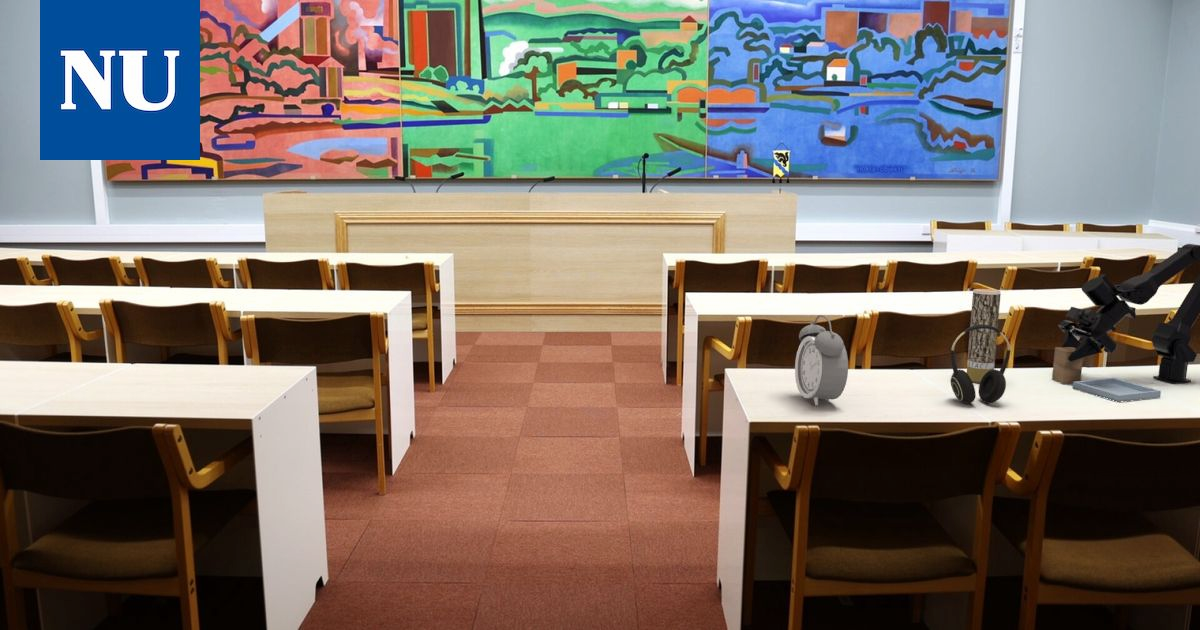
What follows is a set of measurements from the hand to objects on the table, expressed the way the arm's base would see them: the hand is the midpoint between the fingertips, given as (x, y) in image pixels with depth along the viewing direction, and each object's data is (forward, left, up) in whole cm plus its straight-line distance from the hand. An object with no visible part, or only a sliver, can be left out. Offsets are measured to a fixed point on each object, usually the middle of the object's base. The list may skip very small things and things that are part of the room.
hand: (1063, 357), depth 237 cm
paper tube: (+21, -8, -7) cm, 23 cm away
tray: (-4, +13, -7) cm, 16 cm away
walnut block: (-1, 0, -7) cm, 7 cm away
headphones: (+37, +9, -7) cm, 38 cm away
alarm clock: (+74, -4, -7) cm, 74 cm away
